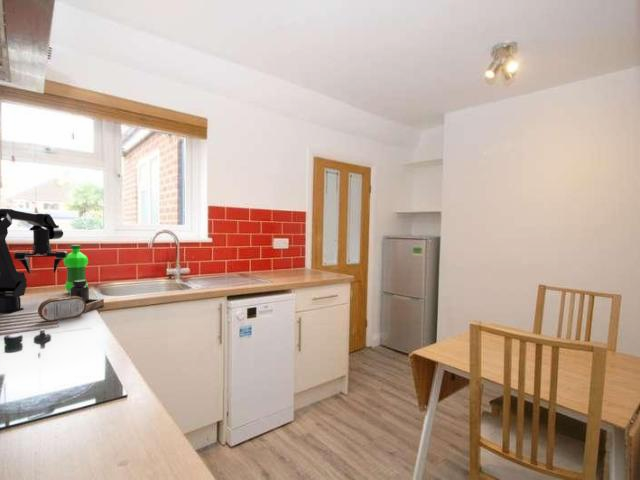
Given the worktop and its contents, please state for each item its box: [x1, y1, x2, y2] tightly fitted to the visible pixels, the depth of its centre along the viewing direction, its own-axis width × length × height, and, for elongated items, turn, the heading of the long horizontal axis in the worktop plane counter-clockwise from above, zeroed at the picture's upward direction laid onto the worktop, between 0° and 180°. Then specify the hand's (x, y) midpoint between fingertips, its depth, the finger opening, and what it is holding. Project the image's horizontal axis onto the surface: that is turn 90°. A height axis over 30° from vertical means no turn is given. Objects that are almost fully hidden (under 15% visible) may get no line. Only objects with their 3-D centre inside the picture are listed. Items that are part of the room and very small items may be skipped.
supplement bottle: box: [69, 279, 90, 304], centre depth 145 cm, size 7×7×12 cm
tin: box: [37, 295, 86, 322], centre depth 130 cm, size 15×3×8 cm, turn 141°
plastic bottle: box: [63, 244, 89, 293], centre depth 174 cm, size 10×10×25 cm
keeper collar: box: [82, 298, 105, 314], centre depth 145 cm, size 12×12×3 cm
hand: (42, 273), depth 156 cm, fingers open, 9 cm apart
